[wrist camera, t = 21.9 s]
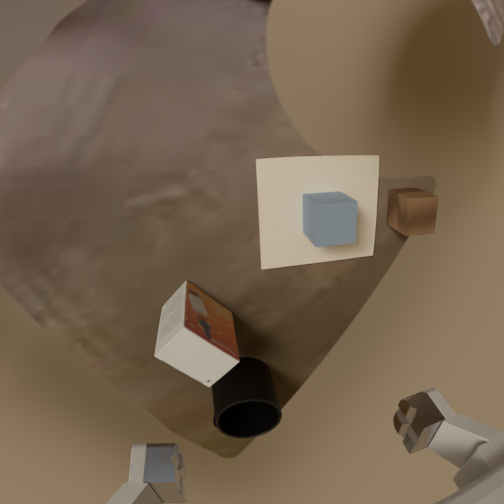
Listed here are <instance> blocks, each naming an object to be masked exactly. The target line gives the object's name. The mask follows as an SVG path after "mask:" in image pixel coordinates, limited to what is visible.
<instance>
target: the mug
mask: <svg viewBox="0 0 504 504" xmlns="http://www.w3.org/2000/svg"><path fill="white" fill-rule="evenodd" d="M239 359H240V361H239V363H237V364H236V365H235V366H234V367H233V368H232V369H231V370H229V371H228V372H227V373H226V374H225V375H224V376H222V377H221V378H220V379H219V380H218V381H216V382H215V383H214V384H213V385H212V392H213V403H214V418H213V423H214V426H215V427H216V428H218V429H219V431H221V432H222V433H223V434H225V435H227V436H230V437H234V438H252V437H257V436H260V435H263V434H266V433H268V432H269V431H271V430H272V429H274V428H275V427H276V426H277V425H278V424H279V422H280V420H281V417H282V412H281V408H280V405H279V401H278V398H277V395H276V391H275V388H274V384H273V381H272V378H271V374H270V371H269V369H268V367H267V366H266V365H265V364H263V363H262V362H261V361H259V360H256V359H253V358H239Z"/></svg>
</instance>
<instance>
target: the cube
mask: <svg viewBox="0 0 504 504" xmlns="http://www.w3.org/2000/svg"><path fill="white" fill-rule="evenodd" d="M302 196H303V233H304V234H305V236H306V237H307V238H308V239H309V240H310V241H311V243H312V244H313V245H314V246H315V247H324V246H332V245H341V244H349V243H356V227H357V206H358V201H356V200H355V199H353V198H351V197H349V196H348V195H346V194H344V193H342V192H341V191H337V192H322V193H307V194H302Z"/></svg>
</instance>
